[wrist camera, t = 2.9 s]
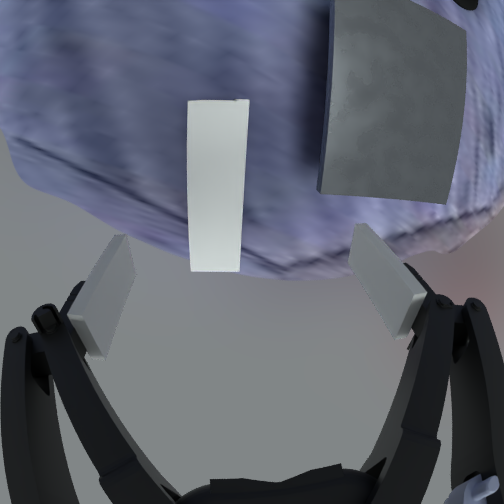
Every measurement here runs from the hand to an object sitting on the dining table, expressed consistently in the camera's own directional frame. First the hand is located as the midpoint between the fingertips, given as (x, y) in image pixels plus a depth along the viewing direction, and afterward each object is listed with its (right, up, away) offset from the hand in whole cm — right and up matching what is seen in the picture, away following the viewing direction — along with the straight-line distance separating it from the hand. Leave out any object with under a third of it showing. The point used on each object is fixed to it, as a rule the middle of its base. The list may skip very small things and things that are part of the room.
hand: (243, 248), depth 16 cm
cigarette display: (-4, +10, +20) cm, 23 cm away
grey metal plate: (+16, +21, +15) cm, 30 cm away
